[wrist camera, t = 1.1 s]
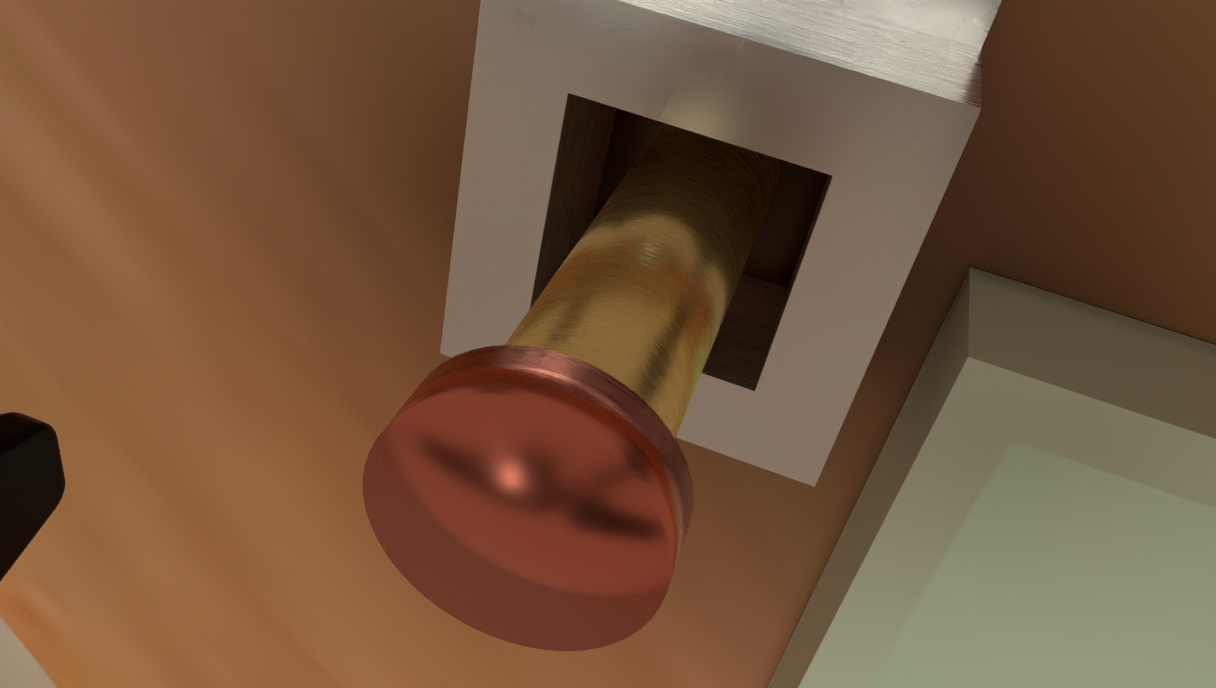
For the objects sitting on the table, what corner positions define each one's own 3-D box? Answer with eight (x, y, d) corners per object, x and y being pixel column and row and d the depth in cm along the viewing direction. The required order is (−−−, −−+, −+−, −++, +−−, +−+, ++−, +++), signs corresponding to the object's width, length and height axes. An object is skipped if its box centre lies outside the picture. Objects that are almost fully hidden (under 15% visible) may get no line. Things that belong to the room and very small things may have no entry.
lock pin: (835, 104, 17) (707, 475, 9) (777, 269, 19) (632, 691, 11) (646, 47, 18) (371, 353, 10) (610, 215, 20) (355, 582, 12)
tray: (1578, 460, 17) (1679, 592, 14) (1166, 851, 24) (1185, 978, 22) (970, 266, 18) (967, 356, 16) (763, 695, 26) (740, 799, 23)
